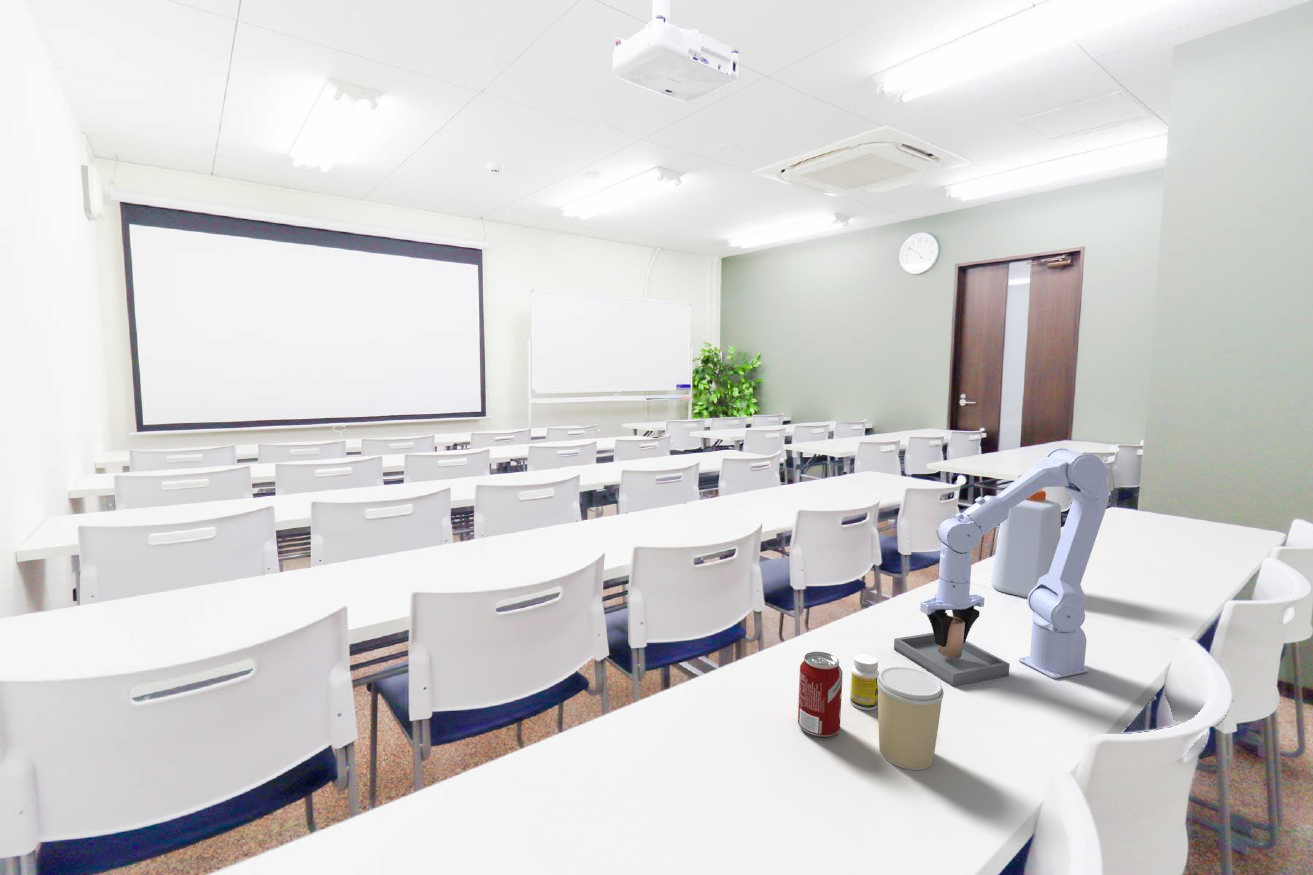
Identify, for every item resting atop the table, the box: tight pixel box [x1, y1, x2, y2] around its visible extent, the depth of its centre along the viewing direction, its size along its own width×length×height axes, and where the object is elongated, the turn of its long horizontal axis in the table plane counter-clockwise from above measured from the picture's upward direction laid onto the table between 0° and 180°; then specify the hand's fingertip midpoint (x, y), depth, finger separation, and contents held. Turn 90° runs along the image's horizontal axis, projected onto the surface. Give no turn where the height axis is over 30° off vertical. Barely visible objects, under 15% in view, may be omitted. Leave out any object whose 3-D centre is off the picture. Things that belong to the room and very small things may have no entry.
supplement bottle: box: [849, 653, 880, 711], centre depth 107 cm, size 5×5×8 cm
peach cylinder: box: [938, 615, 965, 658], centre depth 122 cm, size 4×4×7 cm
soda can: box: [797, 651, 843, 738], centre depth 99 cm, size 7×7×12 cm
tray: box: [893, 632, 1011, 687], centre depth 123 cm, size 14×16×2 cm
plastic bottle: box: [990, 489, 1062, 599], centre depth 164 cm, size 15×15×28 cm
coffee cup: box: [877, 666, 945, 771], centre depth 92 cm, size 9×9×12 cm
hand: (950, 643), depth 123 cm, fingers closed on peach cylinder, 4 cm apart
